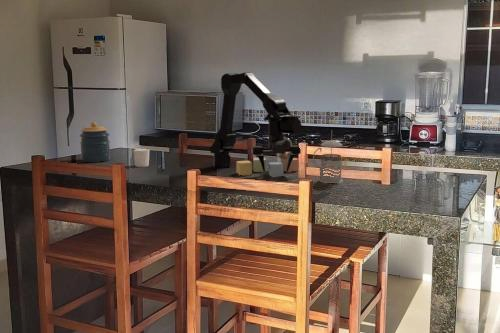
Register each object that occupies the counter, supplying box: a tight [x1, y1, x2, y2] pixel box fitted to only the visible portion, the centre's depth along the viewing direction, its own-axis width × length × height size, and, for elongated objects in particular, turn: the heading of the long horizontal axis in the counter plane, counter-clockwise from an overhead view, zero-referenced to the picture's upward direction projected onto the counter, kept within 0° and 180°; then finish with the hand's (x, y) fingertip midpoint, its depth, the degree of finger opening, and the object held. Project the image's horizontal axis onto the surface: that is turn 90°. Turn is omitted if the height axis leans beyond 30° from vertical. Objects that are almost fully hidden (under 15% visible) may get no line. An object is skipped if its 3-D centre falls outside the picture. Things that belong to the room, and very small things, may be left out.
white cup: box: [132, 148, 150, 168], centre depth 241 cm, size 7×7×7 cm
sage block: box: [252, 157, 267, 173], centre depth 229 cm, size 5×5×5 cm
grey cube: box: [268, 161, 284, 177], centre depth 218 cm, size 5×5×5 cm
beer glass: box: [276, 136, 293, 163], centre depth 232 cm, size 7×7×15 cm
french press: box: [312, 114, 344, 184], centre depth 207 cm, size 10×12×25 cm
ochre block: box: [235, 160, 253, 176], centre depth 222 cm, size 5×5×5 cm
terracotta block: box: [282, 157, 299, 173], centre depth 228 cm, size 5×5×5 cm
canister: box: [79, 121, 111, 163], centre depth 253 cm, size 13×13×18 cm
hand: (275, 171), depth 219 cm, fingers open, 9 cm apart
